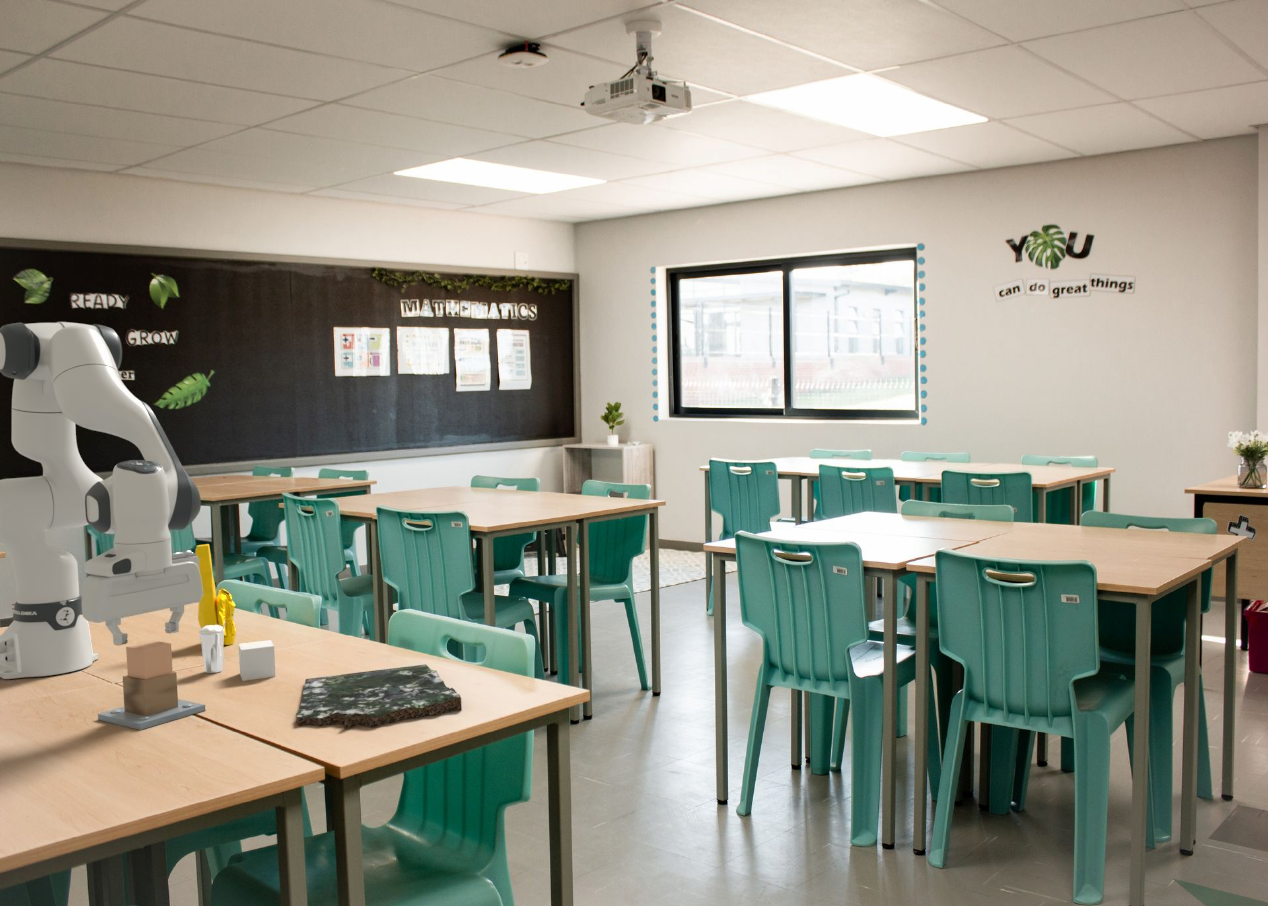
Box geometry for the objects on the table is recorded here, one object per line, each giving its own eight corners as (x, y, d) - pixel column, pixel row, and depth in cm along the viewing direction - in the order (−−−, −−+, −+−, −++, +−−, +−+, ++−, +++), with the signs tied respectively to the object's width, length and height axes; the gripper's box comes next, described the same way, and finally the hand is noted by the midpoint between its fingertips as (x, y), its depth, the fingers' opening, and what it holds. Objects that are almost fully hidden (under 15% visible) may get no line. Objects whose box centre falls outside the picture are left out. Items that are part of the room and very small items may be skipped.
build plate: (98, 719, 179) (97, 712, 179) (163, 701, 189) (162, 694, 189) (140, 729, 173) (140, 722, 173) (205, 710, 183) (205, 703, 183)
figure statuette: (235, 650, 227) (229, 548, 226) (195, 654, 225) (190, 550, 224) (240, 633, 244) (235, 538, 243) (203, 636, 242) (198, 540, 241)
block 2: (124, 711, 180) (122, 676, 180) (157, 702, 185) (155, 668, 185) (145, 716, 177) (143, 680, 177) (178, 706, 182) (176, 672, 182)
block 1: (127, 675, 180) (126, 646, 180) (154, 669, 184) (153, 640, 184) (145, 679, 177) (143, 649, 177) (172, 672, 181) (171, 643, 181)
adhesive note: (239, 674, 208) (238, 643, 207) (272, 670, 210) (270, 639, 210) (242, 681, 202) (240, 649, 202) (275, 676, 205) (274, 645, 204)
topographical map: (426, 672, 207) (425, 657, 206) (465, 717, 176) (464, 700, 176) (286, 689, 197) (285, 673, 197) (301, 741, 167) (300, 722, 166)
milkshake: (221, 674, 207) (218, 623, 207) (196, 674, 208) (194, 623, 208) (234, 668, 212) (232, 618, 211) (210, 668, 213) (207, 618, 212)
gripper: (186, 547, 190) (190, 623, 191) (74, 564, 173) (78, 649, 174) (209, 550, 187) (212, 628, 188) (96, 568, 170) (100, 654, 171)
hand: (146, 638), depth 181 cm, fingers open, 8 cm apart
